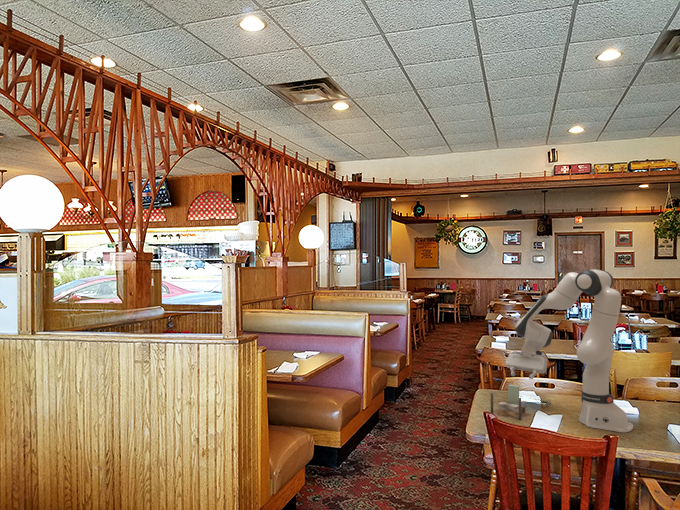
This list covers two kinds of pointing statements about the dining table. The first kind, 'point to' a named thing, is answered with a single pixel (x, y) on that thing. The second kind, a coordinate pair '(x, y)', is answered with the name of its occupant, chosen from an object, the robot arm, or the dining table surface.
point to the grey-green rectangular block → (513, 394)
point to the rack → (521, 416)
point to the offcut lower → (508, 413)
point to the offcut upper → (508, 407)
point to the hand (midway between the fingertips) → (521, 376)
